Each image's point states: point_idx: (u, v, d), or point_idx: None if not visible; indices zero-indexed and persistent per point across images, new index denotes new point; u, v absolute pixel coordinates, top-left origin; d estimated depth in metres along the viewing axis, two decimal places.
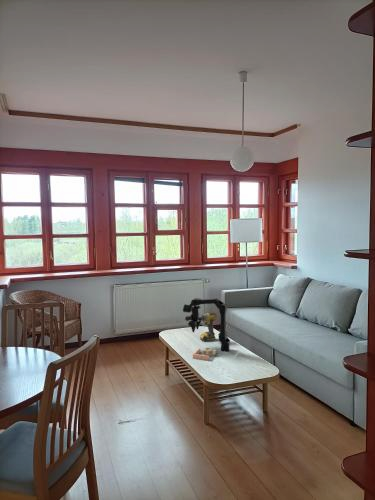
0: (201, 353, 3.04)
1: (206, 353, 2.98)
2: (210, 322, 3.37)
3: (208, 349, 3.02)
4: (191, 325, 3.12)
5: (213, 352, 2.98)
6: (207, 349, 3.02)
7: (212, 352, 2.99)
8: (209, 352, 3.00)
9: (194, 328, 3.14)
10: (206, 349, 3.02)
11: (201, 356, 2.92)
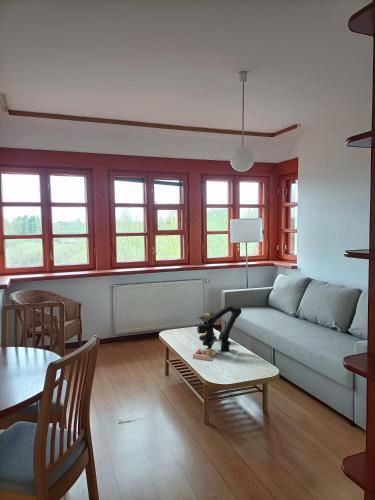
0: (201, 353, 3.04)
1: (206, 353, 2.98)
2: None
3: (208, 349, 3.02)
4: None
5: (213, 352, 2.98)
6: (207, 349, 3.02)
7: (212, 352, 2.98)
8: (209, 352, 2.99)
9: (210, 346, 3.05)
10: (206, 349, 3.02)
11: (201, 356, 2.92)
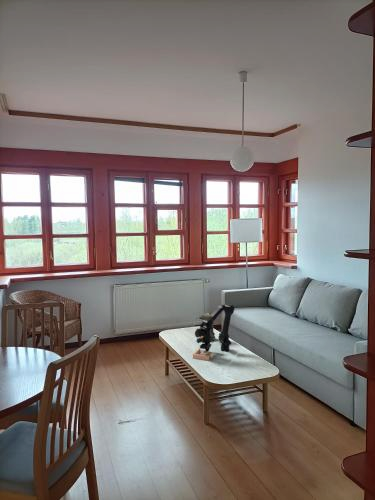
0: None
1: None
2: None
3: (205, 352, 2.96)
4: None
5: (210, 355, 2.92)
6: (204, 352, 2.96)
7: (209, 355, 2.92)
8: (206, 355, 2.93)
9: (208, 349, 2.99)
10: (203, 352, 2.96)
11: (201, 356, 2.92)
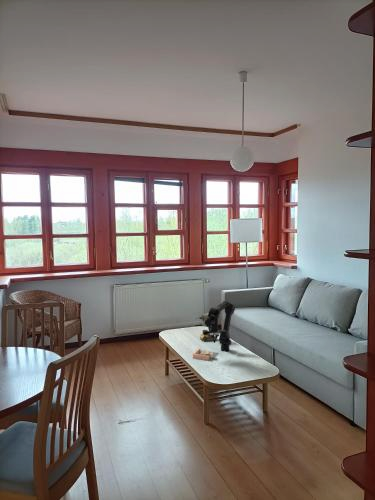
0: None
1: None
2: None
3: (205, 352, 2.96)
4: None
5: (210, 355, 2.92)
6: (204, 352, 2.96)
7: (209, 355, 2.92)
8: (206, 355, 2.93)
9: None
10: (203, 352, 2.96)
11: (201, 356, 2.92)
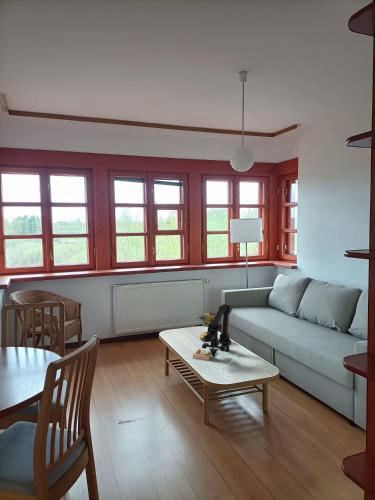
0: None
1: None
2: None
3: (205, 352, 2.96)
4: None
5: (210, 355, 2.92)
6: (204, 352, 2.96)
7: (209, 355, 2.93)
8: (206, 355, 2.93)
9: (211, 352, 2.92)
10: (203, 352, 2.96)
11: (201, 356, 2.92)
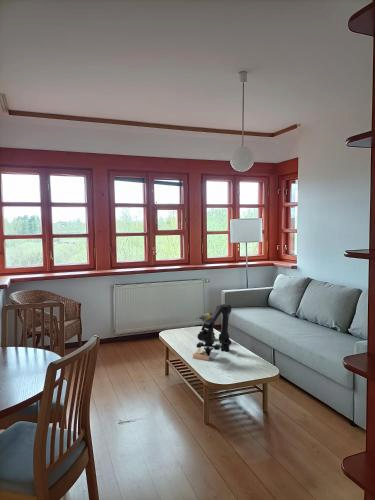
0: None
1: None
2: None
3: (200, 351, 2.98)
4: None
5: (205, 354, 2.94)
6: (199, 351, 2.98)
7: (204, 354, 2.94)
8: (201, 354, 2.95)
9: (206, 352, 2.94)
10: (198, 351, 2.97)
11: (201, 356, 2.92)
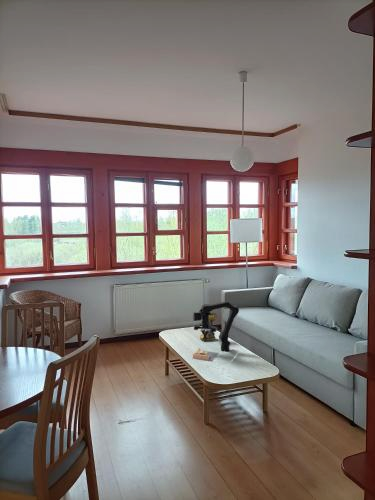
0: None
1: None
2: (210, 322, 3.37)
3: (200, 351, 2.98)
4: (201, 329, 3.08)
5: (205, 354, 2.94)
6: (199, 351, 2.98)
7: (204, 354, 2.94)
8: (201, 354, 2.95)
9: (203, 334, 3.06)
10: (198, 351, 2.97)
11: (201, 356, 2.92)
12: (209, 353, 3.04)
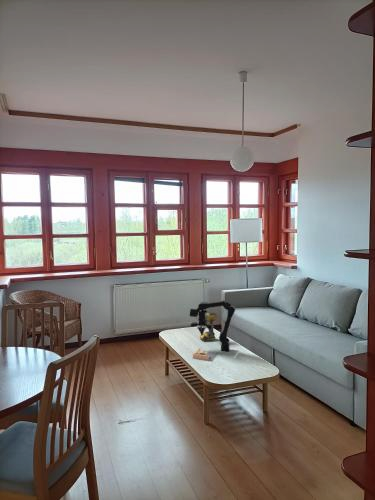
0: None
1: None
2: (210, 322, 3.37)
3: (200, 351, 2.98)
4: None
5: (205, 354, 2.94)
6: (199, 351, 2.98)
7: (204, 354, 2.94)
8: (201, 354, 2.95)
9: None
10: (198, 351, 2.97)
11: (201, 356, 2.92)
12: (209, 353, 3.04)
